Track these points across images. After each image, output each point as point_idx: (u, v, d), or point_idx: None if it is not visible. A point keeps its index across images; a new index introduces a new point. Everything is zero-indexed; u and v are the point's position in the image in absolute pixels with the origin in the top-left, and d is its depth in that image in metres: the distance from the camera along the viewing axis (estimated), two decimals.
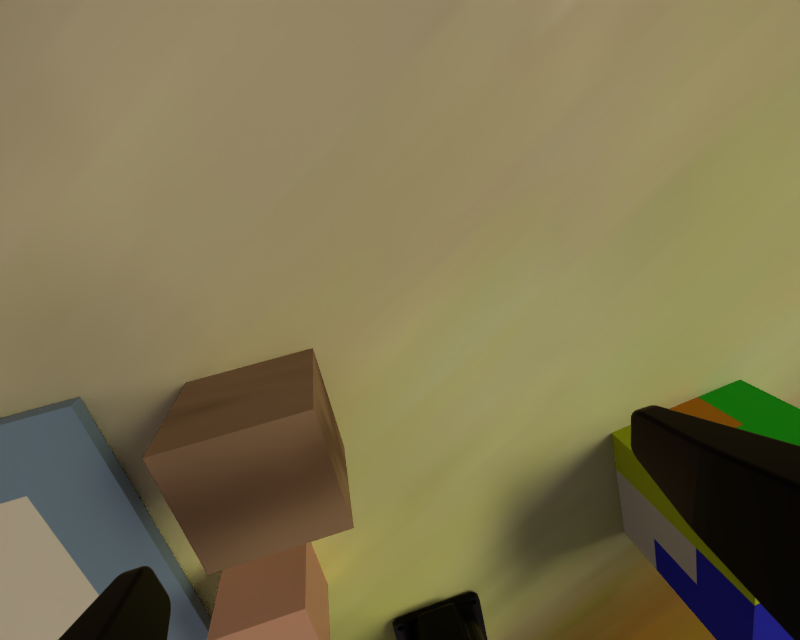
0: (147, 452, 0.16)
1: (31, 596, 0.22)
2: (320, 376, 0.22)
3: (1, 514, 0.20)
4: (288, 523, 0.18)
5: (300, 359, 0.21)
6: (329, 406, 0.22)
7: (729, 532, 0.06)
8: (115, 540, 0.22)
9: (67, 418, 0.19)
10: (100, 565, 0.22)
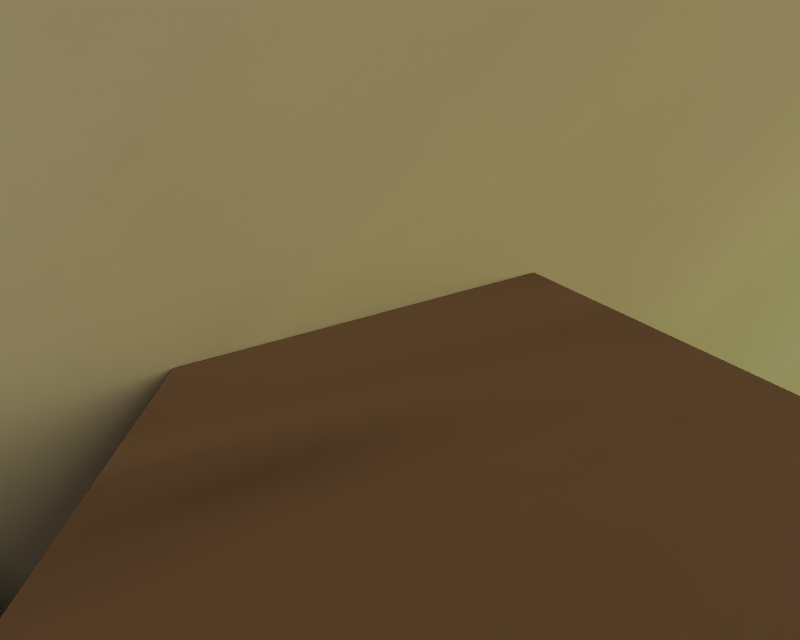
0: None
1: None
2: None
3: None
4: None
5: (530, 298, 0.07)
6: None
7: None
8: None
9: None
10: None
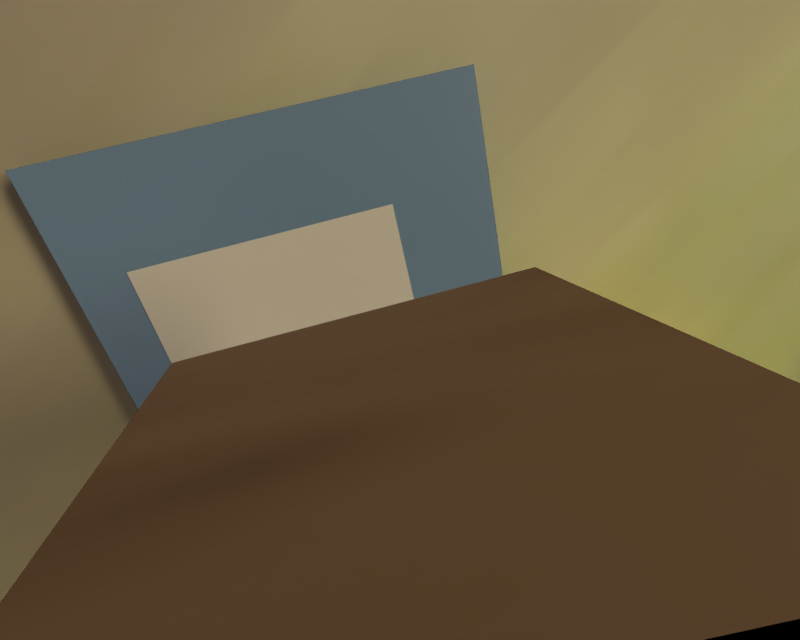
0: None
1: None
2: None
3: (360, 228, 0.16)
4: None
5: (531, 292, 0.06)
6: None
7: None
8: None
9: (465, 84, 0.15)
10: None
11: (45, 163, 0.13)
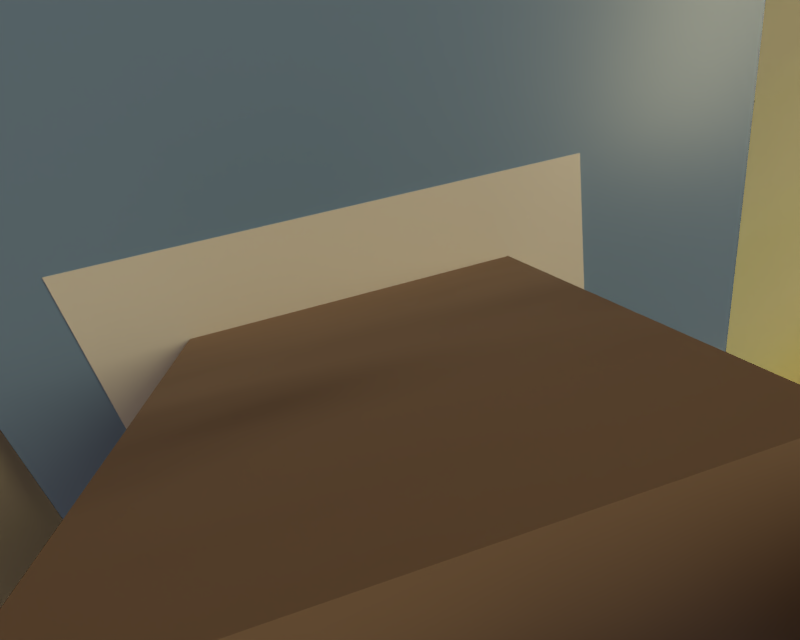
0: None
1: None
2: None
3: (515, 200, 0.08)
4: None
5: (501, 276, 0.07)
6: None
7: None
8: (673, 315, 0.10)
9: None
10: None
11: None
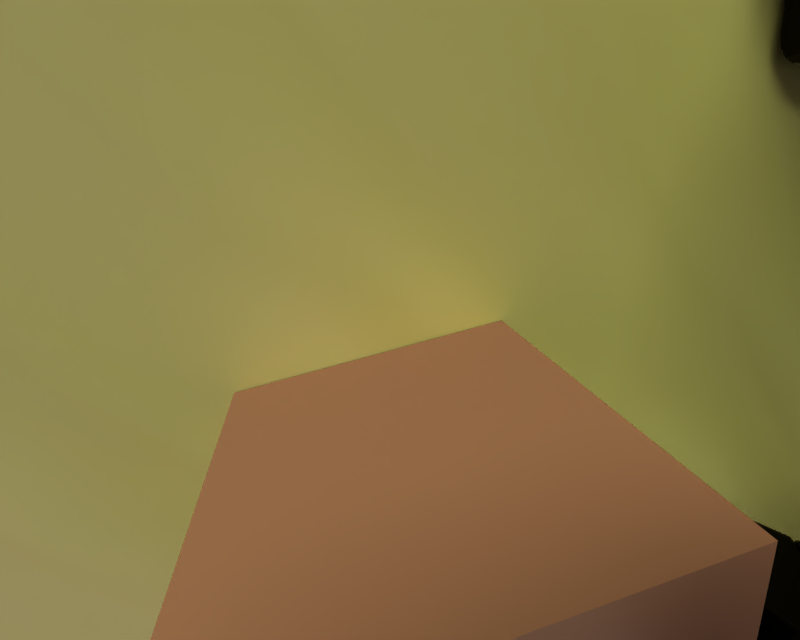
0: None
1: None
2: None
3: None
4: None
5: None
6: None
7: None
8: None
9: None
10: None
11: None
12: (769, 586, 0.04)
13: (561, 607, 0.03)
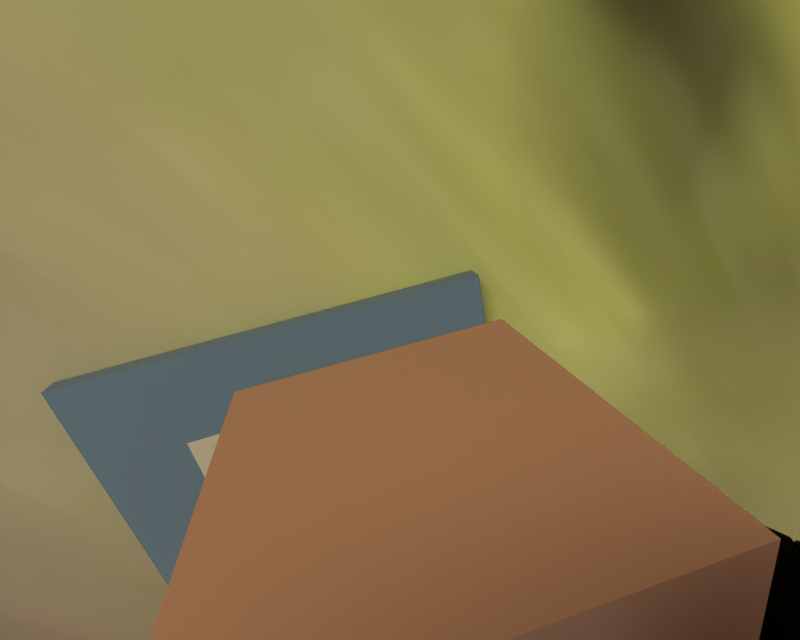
0: None
1: None
2: None
3: None
4: None
5: None
6: None
7: None
8: (264, 370, 0.17)
9: (62, 398, 0.16)
10: None
11: None
12: None
13: (563, 604, 0.03)
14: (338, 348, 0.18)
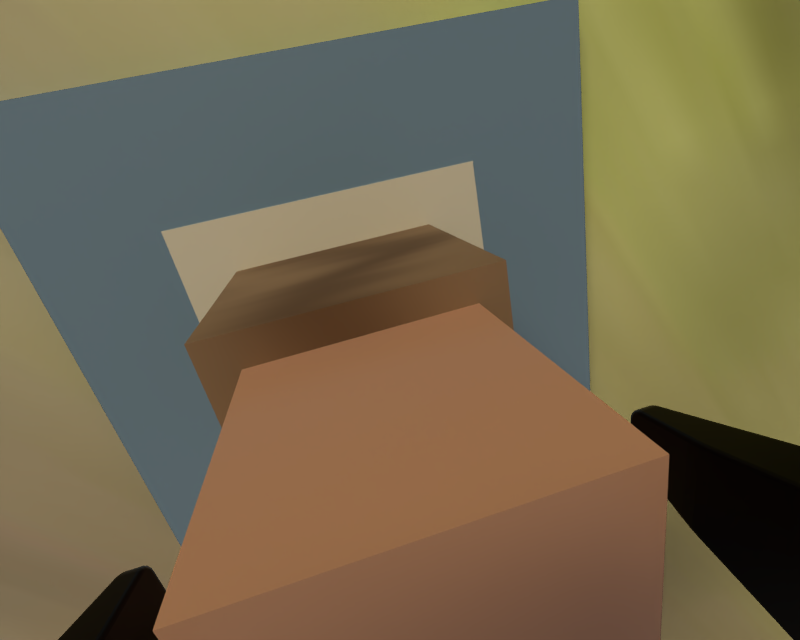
0: None
1: None
2: (279, 264, 0.13)
3: (199, 271, 0.13)
4: None
5: None
6: (334, 252, 0.13)
7: (729, 532, 0.06)
8: (275, 118, 0.12)
9: None
10: (331, 158, 0.13)
11: (172, 528, 0.16)
12: None
13: (498, 504, 0.04)
14: (380, 94, 0.12)
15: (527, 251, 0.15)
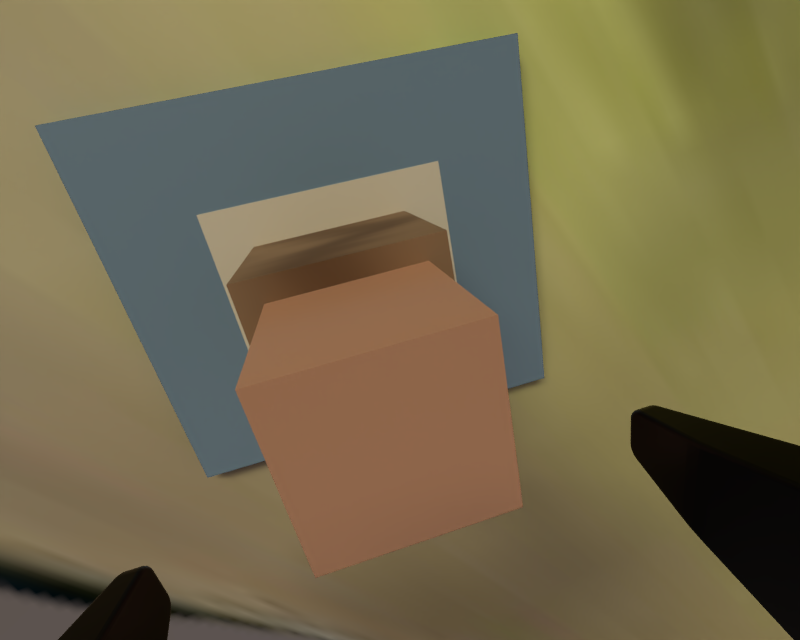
0: None
1: None
2: (287, 241, 0.17)
3: (225, 246, 0.17)
4: None
5: None
6: (329, 232, 0.17)
7: (729, 532, 0.06)
8: (284, 128, 0.16)
9: (58, 135, 0.14)
10: (327, 158, 0.16)
11: (199, 458, 0.20)
12: None
13: (408, 338, 0.08)
14: (364, 109, 0.16)
15: (485, 233, 0.19)
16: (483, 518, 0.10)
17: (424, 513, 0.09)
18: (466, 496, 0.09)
